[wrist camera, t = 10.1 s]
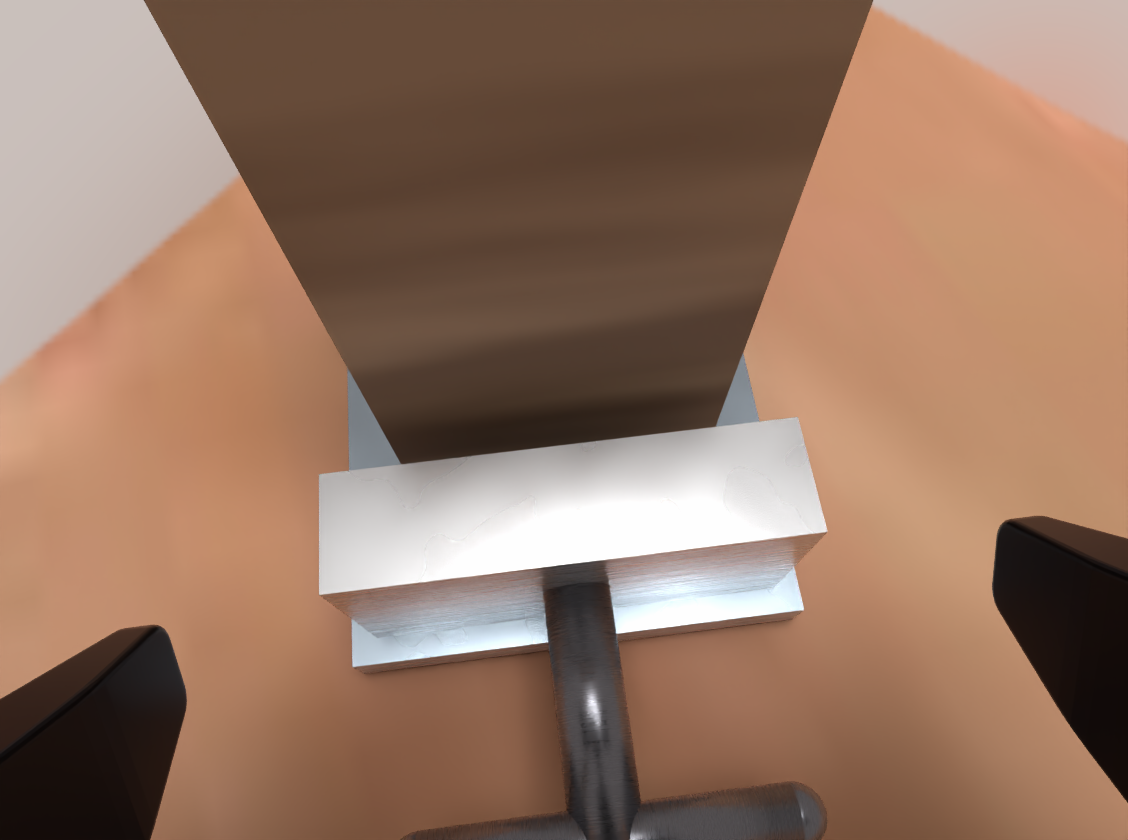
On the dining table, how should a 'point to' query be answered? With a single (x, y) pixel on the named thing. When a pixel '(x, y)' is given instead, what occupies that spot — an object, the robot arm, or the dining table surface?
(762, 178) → the walnut slab
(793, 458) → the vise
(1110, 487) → the dining table surface
